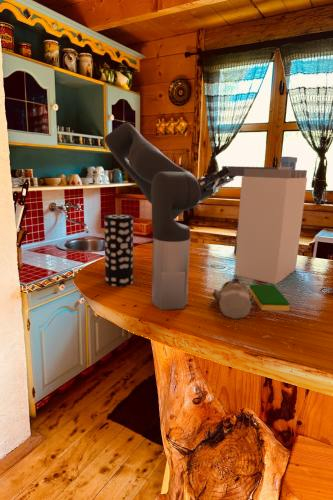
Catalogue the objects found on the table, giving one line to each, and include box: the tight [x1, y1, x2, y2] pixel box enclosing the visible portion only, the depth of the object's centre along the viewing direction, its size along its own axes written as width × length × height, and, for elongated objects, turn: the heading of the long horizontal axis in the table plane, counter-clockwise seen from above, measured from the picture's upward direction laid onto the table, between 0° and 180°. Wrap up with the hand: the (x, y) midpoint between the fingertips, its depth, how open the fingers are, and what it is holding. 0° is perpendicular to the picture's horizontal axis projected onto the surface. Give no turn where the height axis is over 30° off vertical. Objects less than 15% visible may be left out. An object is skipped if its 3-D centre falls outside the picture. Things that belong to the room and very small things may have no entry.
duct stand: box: [233, 156, 308, 285], centre depth 112 cm, size 14×20×38 cm
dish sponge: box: [248, 284, 291, 312], centre depth 92 cm, size 7×14×2 cm, turn 0°
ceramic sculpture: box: [211, 278, 254, 320], centre depth 84 cm, size 11×9×15 cm
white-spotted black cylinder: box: [103, 214, 134, 287], centre depth 100 cm, size 8×8×20 cm
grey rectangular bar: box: [221, 165, 292, 178], centre depth 107 cm, size 22×3×3 cm, turn 53°
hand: (234, 169), depth 111 cm, fingers open, 8 cm apart
